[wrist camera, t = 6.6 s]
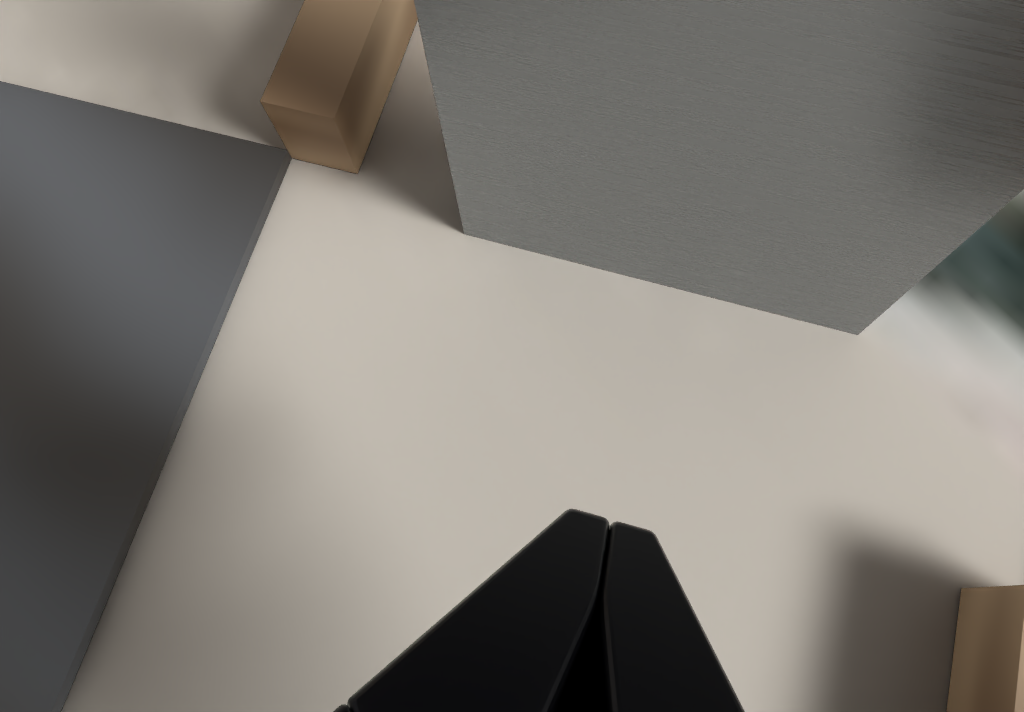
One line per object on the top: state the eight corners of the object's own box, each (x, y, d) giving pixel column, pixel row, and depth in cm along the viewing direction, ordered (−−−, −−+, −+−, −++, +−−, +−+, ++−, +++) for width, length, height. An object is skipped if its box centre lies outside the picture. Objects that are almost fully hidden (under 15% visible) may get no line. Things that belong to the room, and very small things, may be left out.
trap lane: (1703, 1336, 11) (1951, 1492, 9) (-389, 599, 15) (-526, 598, 13) (1548, -89, 18) (1669, -174, 16) (154, -323, 22) (117, -412, 20)
